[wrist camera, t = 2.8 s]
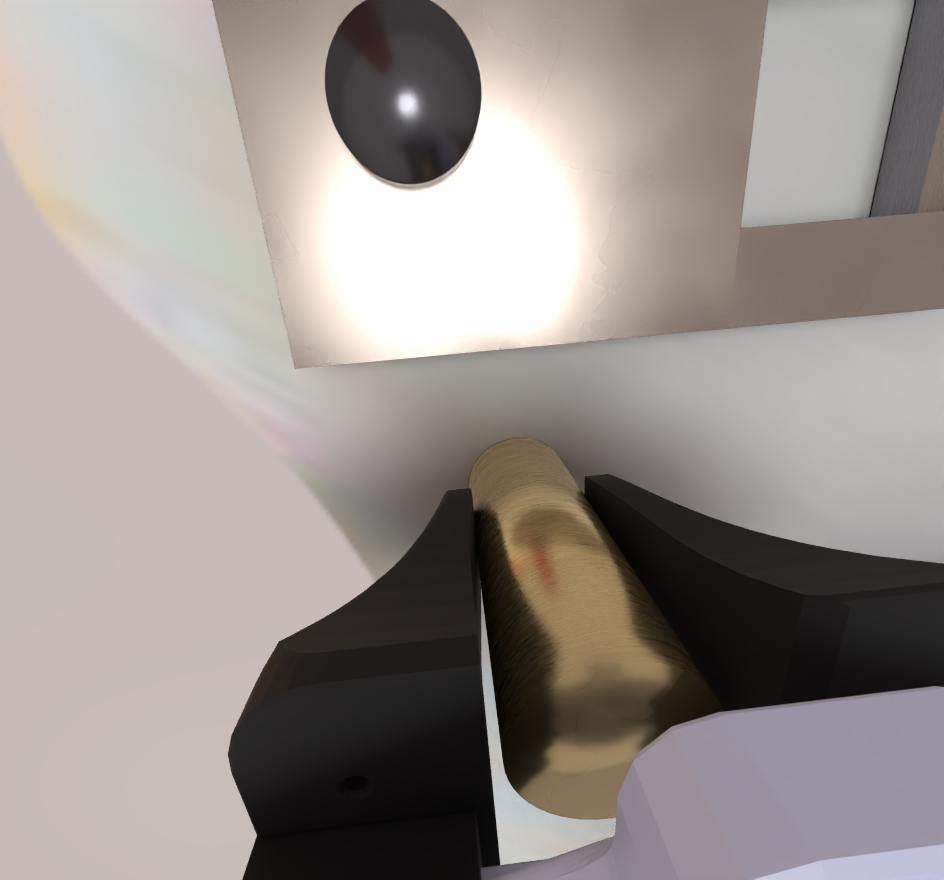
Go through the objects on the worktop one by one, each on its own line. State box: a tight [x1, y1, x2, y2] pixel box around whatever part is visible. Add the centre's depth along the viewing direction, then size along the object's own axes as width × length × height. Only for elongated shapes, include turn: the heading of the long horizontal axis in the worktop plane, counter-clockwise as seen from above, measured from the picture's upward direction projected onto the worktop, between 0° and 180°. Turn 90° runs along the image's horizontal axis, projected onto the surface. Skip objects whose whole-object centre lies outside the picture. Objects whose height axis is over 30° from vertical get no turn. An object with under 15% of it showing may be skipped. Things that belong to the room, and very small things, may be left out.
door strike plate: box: [212, 0, 944, 369], centre depth 9 cm, size 24×9×3 cm, turn 95°
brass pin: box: [469, 438, 723, 819], centre depth 10 cm, size 3×3×8 cm
